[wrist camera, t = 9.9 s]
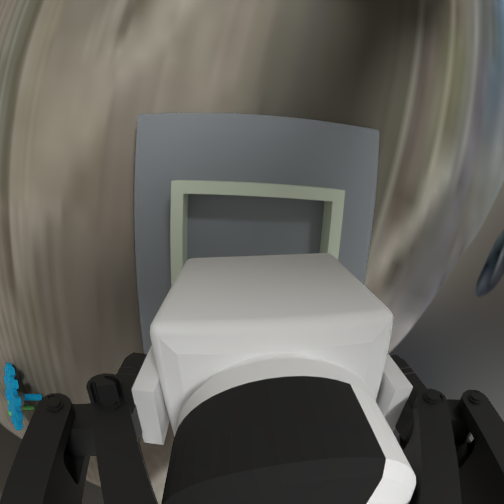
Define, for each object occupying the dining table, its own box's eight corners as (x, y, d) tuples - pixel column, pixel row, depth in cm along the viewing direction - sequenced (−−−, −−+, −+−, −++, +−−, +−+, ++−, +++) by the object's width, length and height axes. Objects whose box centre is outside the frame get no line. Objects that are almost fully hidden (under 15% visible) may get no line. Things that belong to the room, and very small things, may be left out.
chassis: (142, 117, 26) (128, 109, 22) (373, 131, 27) (391, 127, 23) (149, 362, 32) (140, 383, 28) (341, 367, 33) (350, 388, 29)
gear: (3, 350, 30) (16, 417, 25) (39, 352, 35) (56, 416, 29) (-1, 382, 33) (11, 439, 28) (29, 384, 38) (44, 438, 33)
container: (199, 376, 18) (171, 576, 5) (185, 256, 16) (71, 464, 3) (323, 370, 18) (394, 554, 6) (332, 250, 16) (503, 417, 4)
